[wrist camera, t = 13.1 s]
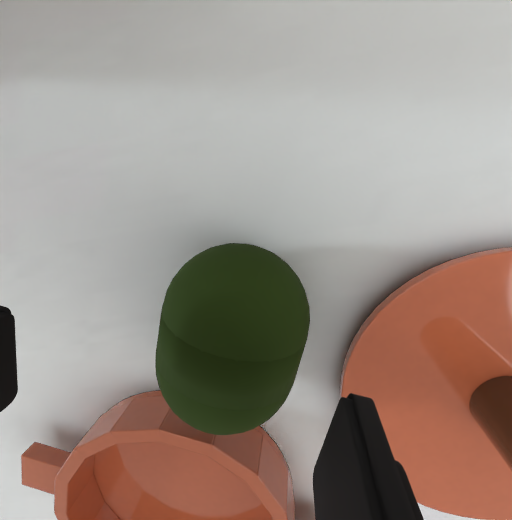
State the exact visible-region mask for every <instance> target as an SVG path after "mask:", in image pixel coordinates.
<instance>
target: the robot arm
mask: <svg viewBox="0 0 512 520" xmlns="http://www.w3.org/2000/svg"><path fill="white" fill-rule="evenodd" d="M17 391H18V386H17V364H16V341H15V320H14V316H13V315H12V314H11V311H10V310H9V308H6V307H3V306H0V412H1V411H2V410H4V409H5V408H6V407H7V406H8V405H9V404H10V403H11V402H12V401H13V400H14V398H15V397H16V394H17ZM313 492H314V505H315V519H316V520H424V519H423V517H422V514H421V511H420V509H419V506H418V504H417V501H416V498H415V496H414V493H413V490H412V488H411V485H410V482H409V480H408V477H407V475H406V472H405V470H404V468H403V466H402V465H401V464H400V462H399V461H396V460H395V459H394V456H393V454H392V451H391V448H390V445H389V443H388V440H387V437H386V434H385V431H384V429H383V426H382V423H381V420H380V417H379V415H378V412H377V409H376V406H375V403H374V401H373V399H371V398H368V397H364V396H360V395H356V394H352V393H350V394H349V395H348V396H347V398H345V397H341V398H340V400H339V403H338V406H337V408H336V411H335V414H334V416H333V419H332V422H331V425H330V427H329V430H328V433H327V435H326V438H325V441H324V443H323V446H322V449H321V451H320V454H319V457H318V460H317V462H316V465H315V468H314V473H313Z"/></svg>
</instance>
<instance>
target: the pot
mask: <svg viewBox="0 0 512 520" xmlns="http://www.w3.org/2000/svg"><path fill="white" fill-rule="evenodd" d="M21 464H22V484H23V485H25V486H28V487H32V488H35V489H38V490H41V491H44V492H48V493H51V494H54V495H55V499H54V511H55V512H54V513H55V515H56V517H57V520H295V502H294V497H293V486H292V478H291V474H290V471H289V467H288V465H287V463H286V461H285V458H284V456H283V454H282V453H281V451H280V449H279V448H278V446H277V445H276V443H275V442H274V441H273V440H272V438H271V437H270V436H269V435H268V434H267V433H266V432H265V431H264V430H263V429H262V428H261V427H260V426H258V427H256V428H254V429H252V430H249V431H246V432H244V433H238V434H232V435H214V434H209V433H205V432H202V431H200V430H197V429H195V428H193V427H192V426H190V425H188V424H187V423H185V422H184V421H182V420H181V419H180V418H179V417H178V416H177V415H176V414H175V413H174V412H173V411H172V410H171V408H170V407H169V405H168V404H167V402H166V401H165V399H164V397H163V395H162V393H161V390H158V391H151V392H145V393H141V394H137V395H134V396H132V397H129V398H127V399H125V400H122V401H121V402H119V403H117V404H116V405H114V406H113V407H112V408H110V409H109V410H108V411H107V412H106V413H104V414H102V415H101V416H100V417H99V419H98V420H97V421H96V422H95V424H94V425H93V426H92V427H91V428H90V430H89V431H88V432H87V433H86V435H85V436H84V437H83V438H82V439H81V441H80V442H79V443H78V444H77V446H76V447H75V448H74V449H73V451H72V452H71V453H70V452H67V451H64V450H61V449H57V448H54V447H51V446H47V445H44V444H41V443H37V442H34V443H33V444H32V445H31V446H30V447H29V448H28V449H27V450H26V451H25V452H24V453H23V454H22V456H21Z"/></svg>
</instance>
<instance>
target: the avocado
mask: <svg viewBox="0 0 512 520" xmlns="http://www.w3.org/2000/svg"><path fill="white" fill-rule="evenodd" d="M309 323H310V314H309V305H308V301H307V297H306V293H305V290H304V288H303V286H302V284H301V282H300V280H299V278H298V276H297V275H296V274H295V272H294V271H293V270H292V269H291V268H290V266H289V265H288V264H287V263H286V262H285V261H283V260H282V259H281V258H279V257H278V256H277V255H275V254H274V253H272V252H270V251H268V250H265V249H263V248H260V247H258V246H254V245H250V244H238V243H229V244H224V245H219V246H215V247H212V248H209V249H207V250H205V251H203V252H201V253H199V254H197V255H196V256H194V257H193V258H192V259H191V260H189V261H188V262H187V263H186V264H185V265H184V266H183V267H182V268H181V269H180V271H179V272H178V273H177V274H176V275H175V277H174V278H173V280H172V282H171V284H170V285H169V287H168V289H167V292H166V296H165V299H164V303H163V307H162V312H161V319H160V327H159V334H158V341H157V349H156V376H157V380H158V384H159V388H160V390H161V393H162V395H163V397H164V399H165V401H166V402H167V404H168V405H169V407H170V408H171V410H172V411H173V412H174V413H175V414H176V415H177V416H178V417H179V418H180V419H181V420H182V421H184V422H185V423H187V424H188V425H190V426H192V427H193V428H195V429H197V430H200V431H202V432H205V433H209V434H214V435H232V434H238V433H244V432H246V431H249V430H252V429H254V428H256V427H258V426H259V425H261V424H262V423H264V422H265V421H267V420H268V419H270V418H271V417H272V416H273V415H274V414H275V413H276V412H277V411H278V410H279V408H280V407H281V406H282V404H283V403H284V402H285V400H286V398H287V396H288V395H289V392H290V390H291V388H292V386H293V383H294V380H295V377H296V374H297V370H298V367H299V364H300V360H301V357H302V354H303V350H304V347H305V344H306V340H307V335H308V329H309Z"/></svg>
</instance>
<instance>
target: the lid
mask: <svg viewBox="0 0 512 520" xmlns="http://www.w3.org/2000/svg"><path fill="white" fill-rule="evenodd" d="M350 393H352V394H356V395H360V396H364V397H368V398H371V399H373V401H374V403H375V406H376V409H377V412H378V415H379V417H380V420H381V423H382V426H383V429H384V431H385V434H386V437H387V440H388V443H389V445H390V448H391V451H392V454H393V456H394V459H395V460H396V461H399V462H400V464H401V465H402V466H403V468H404V470H405V472H406V475H407V477H408V480H409V482H410V485H411V488H412V490H413V493H414V496H415V498H416V501H417V502H418V503H420V504H422V505H424V506H427V507H430V508H432V509H435V510H438V511H441V512H445V513H449V514H453V515H457V516H461V517H468V518H475V519H483V520H512V247H509V248H498V249H492V250H487V251H482V252H476V253H472V254H469V255H466V256H462V257H459V258H456V259H452V260H449V261H447V262H445V263H442V264H440V265H438V266H435V267H433V268H431V269H428V270H427V271H425V272H423V273H421V274H420V275H418V276H416V277H414V278H413V279H411V280H409V281H407V282H406V283H405V284H403V285H402V286H401V287H399V288H398V289H397V290H395V291H394V292H392V293H391V294H390V295H389V296H388V297H387V298H386V299H385V300H384V301H383V302H381V303H380V304H379V305H378V306H377V307H376V308H375V309H374V311H373V312H372V313H371V314H370V315H369V317H368V318H367V319H366V320H365V321H364V323H363V324H362V326H361V327H360V329H359V331H358V332H357V334H356V335H355V337H354V339H353V341H352V343H351V345H350V348H349V350H348V352H347V354H346V357H345V361H344V365H343V369H342V373H341V383H340V398H341V397H345V398H347V396H348V395H349V394H350Z"/></svg>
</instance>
